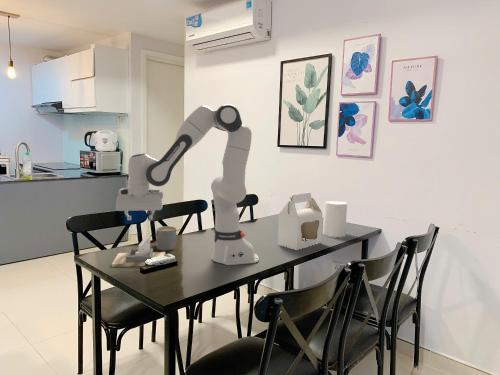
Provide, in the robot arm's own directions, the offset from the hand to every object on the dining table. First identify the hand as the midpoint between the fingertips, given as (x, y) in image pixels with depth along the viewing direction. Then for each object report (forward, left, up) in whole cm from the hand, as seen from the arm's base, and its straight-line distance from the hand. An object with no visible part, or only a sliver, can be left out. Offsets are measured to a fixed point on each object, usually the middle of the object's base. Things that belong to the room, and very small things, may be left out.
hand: (140, 219), depth 171 cm
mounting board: (0, 0, -19) cm, 19 cm away
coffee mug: (-10, -21, -19) cm, 30 cm away
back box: (0, 0, -18) cm, 18 cm away
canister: (-110, -40, -19) cm, 119 cm away
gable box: (-82, -21, -19) cm, 87 cm away
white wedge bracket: (-1, +1, -18) cm, 18 cm away
